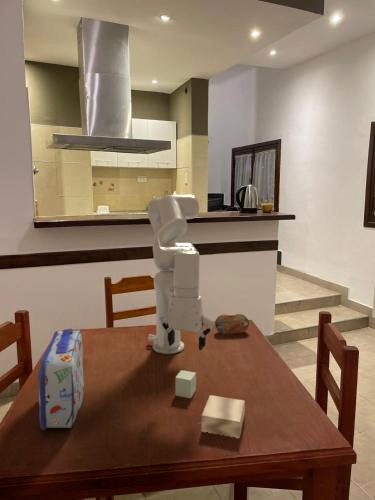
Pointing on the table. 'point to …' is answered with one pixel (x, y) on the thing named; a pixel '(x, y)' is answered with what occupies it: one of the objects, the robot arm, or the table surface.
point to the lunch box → (61, 380)
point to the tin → (231, 323)
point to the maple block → (223, 416)
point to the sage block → (185, 384)
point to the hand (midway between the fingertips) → (186, 346)
